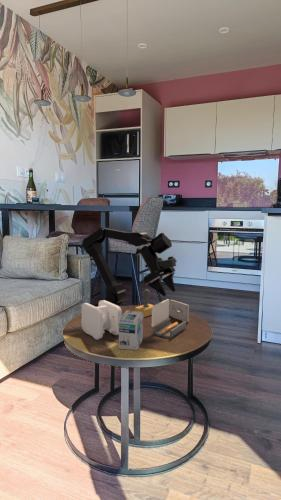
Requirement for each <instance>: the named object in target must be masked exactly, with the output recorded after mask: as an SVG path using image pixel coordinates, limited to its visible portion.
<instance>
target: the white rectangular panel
mask: <svg viewBox="0 0 281 500" xmlns="http://www.w3.org/2000/svg"><path fill="white" fill-rule="evenodd" d="M169 302H170V299H168V298H167V299H165V300H163V301H160V302H158V303H156V304H153V305H154V306H152V315H151V325H150V326H151V327H154V326H156V325H158V324H159V323H161V322H163V321H164V320H166V319H168V318H170V316H169Z"/></svg>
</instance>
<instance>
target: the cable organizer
mask: <svg viewBox="0 0 281 500" xmlns="http://www.w3.org/2000/svg"><path fill="white" fill-rule="evenodd" d="M122 315H123V311H122V308H121V306H120V307H119V306H117V305H115V304H113V303H110V302H108V301H106V300H105V299H103V300H98V306H95V305H93V304H90V303H89V302H83V303H81V329H82V330H83V332H84V333H85V334H87V335H90V336H91V337H92V338H93V339H95V340H96V341H98V340H101V339H103V335H105V333H106V332H105V331H108V332H109V333H110V334H112V335H114V336H117V335H119V318H120V317H121V316H122Z"/></svg>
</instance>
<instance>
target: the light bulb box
mask: <svg viewBox="0 0 281 500" xmlns="http://www.w3.org/2000/svg"><path fill="white" fill-rule="evenodd" d="M143 332H144V318H143V312H136V311H135V310H125V312H124V313H122V316H121V317H120V318H119V334H118V349H122V350H123V349H125V350H132V351H137V350H138V349H139V347H140V345H141V344H142V342H143V337H144V335H143V334H144V333H143Z"/></svg>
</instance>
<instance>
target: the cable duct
mask: <svg viewBox="0 0 281 500" xmlns="http://www.w3.org/2000/svg"><path fill="white" fill-rule="evenodd" d="M186 329H187V322H186V321H182V322H180V323H178V321H175V322H173V323H171V317H169V318H167V319H166V320H164V321H162V322H161V323H159V324H157V325H156V326H154V327H153V328H152V335H153V336H158V337H162V338H167V339H170V340H172V339H173V338H175V337H176V336H177V335H179V334H181V333H182V332H183V331H184V330H186Z"/></svg>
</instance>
